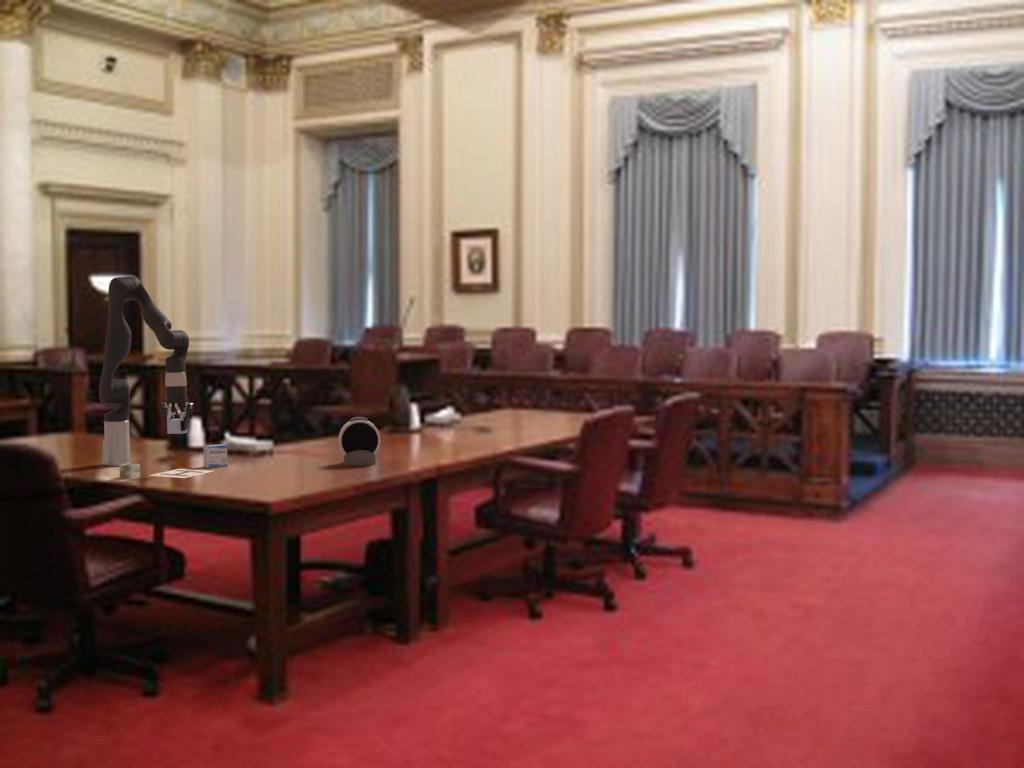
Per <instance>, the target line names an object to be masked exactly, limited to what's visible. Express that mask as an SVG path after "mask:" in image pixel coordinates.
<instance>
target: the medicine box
mask: <svg viewBox="0 0 1024 768" xmlns="http://www.w3.org/2000/svg"><path fill="white" fill-rule="evenodd" d="M202 449H203V467H204V468H206V469H211V468H212V469H213V468H223V467H225V468H227V467H228V445H227V444H224V443H223V444H210V445H209V444H208V445H203V448H202Z"/></svg>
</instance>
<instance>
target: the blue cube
mask: <svg viewBox="0 0 1024 768" xmlns="http://www.w3.org/2000/svg"><path fill="white" fill-rule="evenodd" d="M166 427H167V430H166V431H167V434H169V435H170V434H173V435H174V434H175V435H178V434H179V435H180V434H181V435H182V434H186V433H188V428H187V429H186V431H181V419H180V418H174V419H170V420H166Z"/></svg>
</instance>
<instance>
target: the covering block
mask: <svg viewBox="0 0 1024 768" xmlns="http://www.w3.org/2000/svg"><path fill="white" fill-rule="evenodd" d="M118 467H119V478H120V479H121V478H123V479H134V478H139V477H141V464H140V463H134V462H133V463H132V462H130V463H127V464H122V465H119V466H118Z"/></svg>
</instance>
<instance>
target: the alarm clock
mask: <svg viewBox="0 0 1024 768" xmlns="http://www.w3.org/2000/svg"><path fill="white" fill-rule="evenodd" d="M338 445H339V448H340V450H341V453H343V461H342V464H343V466H370V465H371V466H373V465H377V460H376V454H377V453H378V451H379V448H380V446H381V434H380V431H379V430H378V428H377V427H376V426H375V424H374V423H372V422H371V421H369V420H368V418H367V417H363V416H356V417H352V418H350V420H349V421H347V422H346V423H345V424H343V426H342V427H341V429H340V431H339V433H338Z"/></svg>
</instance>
